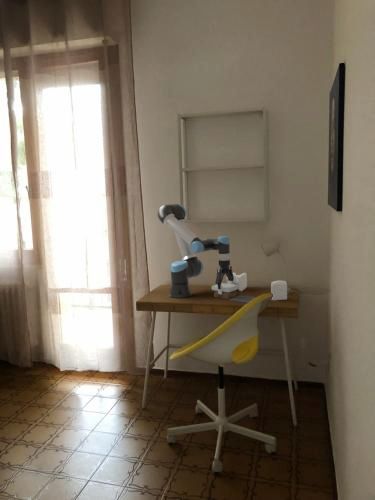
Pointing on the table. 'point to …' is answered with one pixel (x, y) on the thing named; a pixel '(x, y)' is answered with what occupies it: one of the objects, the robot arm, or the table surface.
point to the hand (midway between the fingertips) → (225, 292)
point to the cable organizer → (239, 281)
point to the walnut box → (225, 294)
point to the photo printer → (279, 290)
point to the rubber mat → (242, 299)
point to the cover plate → (226, 287)
